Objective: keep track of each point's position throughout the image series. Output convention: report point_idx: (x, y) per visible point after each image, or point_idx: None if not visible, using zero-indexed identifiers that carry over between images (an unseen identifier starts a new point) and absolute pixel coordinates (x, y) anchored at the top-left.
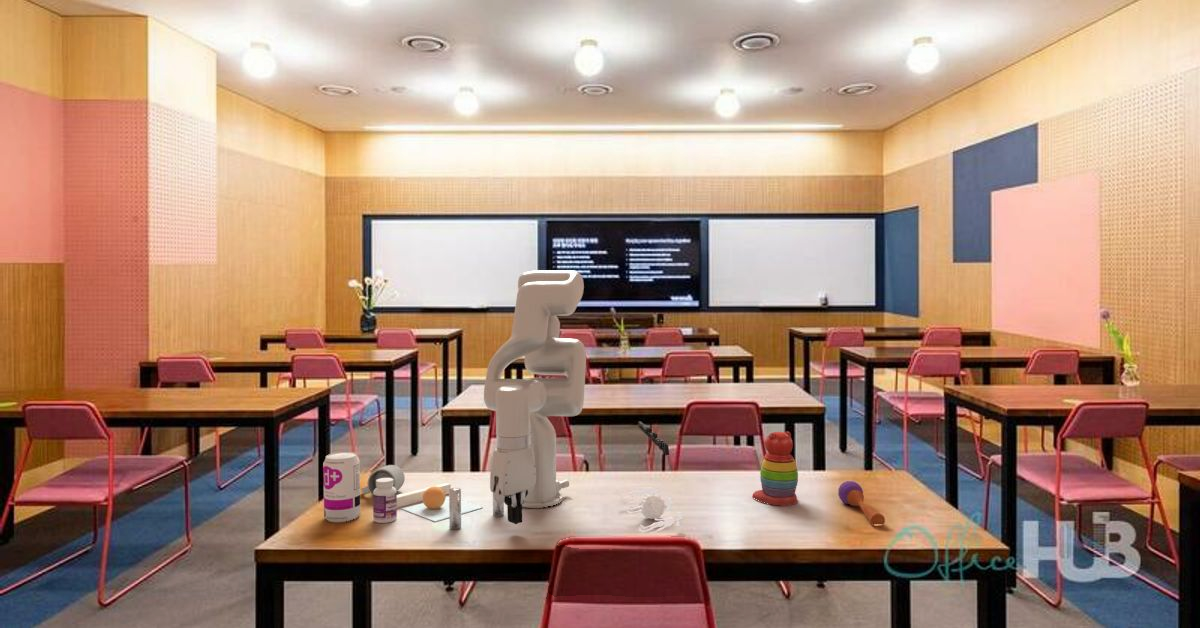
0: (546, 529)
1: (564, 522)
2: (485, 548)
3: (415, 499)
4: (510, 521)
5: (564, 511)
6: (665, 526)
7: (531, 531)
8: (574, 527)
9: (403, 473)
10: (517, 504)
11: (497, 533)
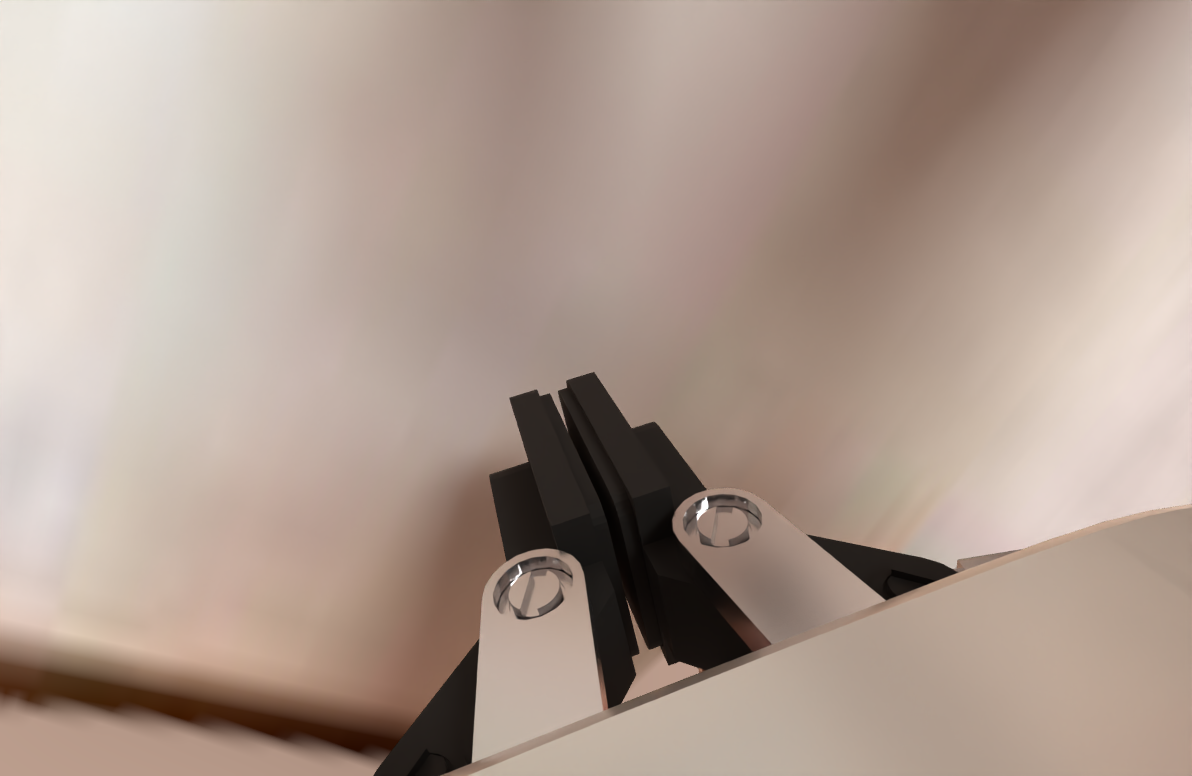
0: (789, 441)
1: (975, 362)
2: (112, 650)
3: None
4: (521, 437)
5: (1169, 102)
6: None
7: (675, 431)
8: (943, 487)
9: None
10: (661, 621)
11: (370, 331)
